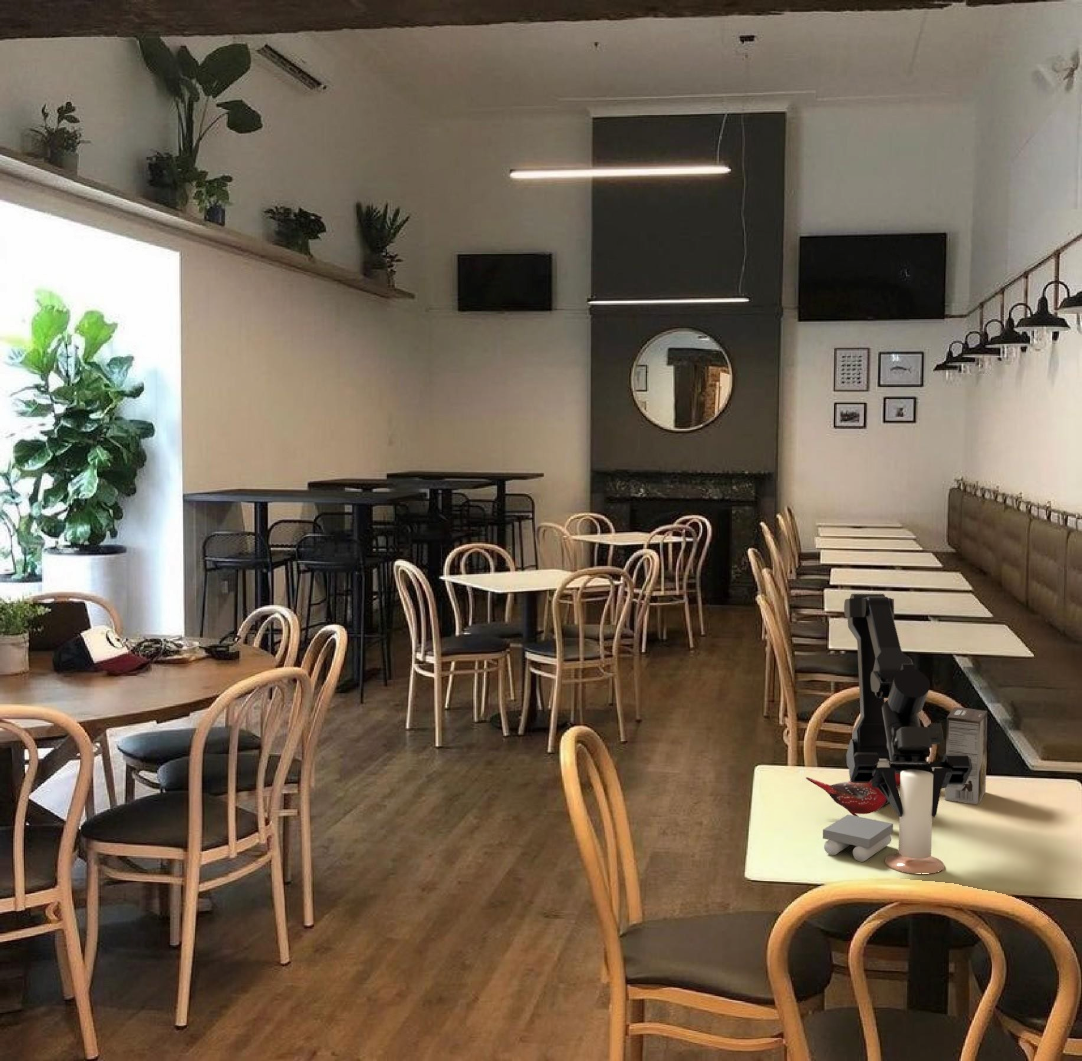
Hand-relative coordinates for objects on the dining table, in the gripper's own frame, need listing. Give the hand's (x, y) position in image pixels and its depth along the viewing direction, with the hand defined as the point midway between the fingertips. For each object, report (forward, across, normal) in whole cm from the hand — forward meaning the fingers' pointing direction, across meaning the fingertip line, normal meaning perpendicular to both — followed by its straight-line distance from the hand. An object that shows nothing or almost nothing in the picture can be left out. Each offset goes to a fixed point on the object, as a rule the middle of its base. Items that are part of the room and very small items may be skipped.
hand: (917, 815), depth 194 cm
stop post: (+4, 0, +6) cm, 7 cm away
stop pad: (+5, 0, +7) cm, 8 cm away
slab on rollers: (0, -8, +11) cm, 14 cm away
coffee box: (-22, +18, +34) cm, 44 cm away
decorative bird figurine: (-10, -6, +23) cm, 26 cm away
